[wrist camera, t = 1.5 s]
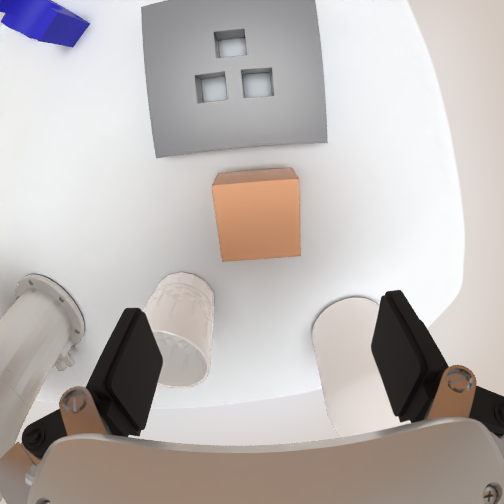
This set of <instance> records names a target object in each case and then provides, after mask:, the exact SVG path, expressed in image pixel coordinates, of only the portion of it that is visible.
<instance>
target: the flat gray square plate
mask: <svg viewBox="0 0 504 504" xmlns="http://www.w3.org/2000/svg"><path fill="white" fill-rule="evenodd" d="M141 12H142V33H143V49H144V62H145V74H146V84H147V93H148V102H149V111H150V119H151V126H152V134H153V141H154V147H155V154H156V158H162V157H168V156H174V155H181V154H188V153H196V152H204V151H212V150H221V149H230V148H241V147H253V146H266V145H283V144H306V143H327V120H326V102H325V87H324V75H323V63H322V53H321V43H320V34H319V26H318V18H317V11H316V4H315V0H167V1H163V2H159V3H155V4H151V5H147V6H144V7H141ZM242 37H245V38H246V49H247V55H242V56H232V57H223V58H220V57H219V46H218V40H223V39H231V38H242ZM263 72H270V79H271V91H272V96H265V97H251V98H244V89H243V79H242V74H249V73H263ZM220 76H226V87H227V97H228V100H221V101H213V102H205V103H203V94H202V84H201V79H205V78H212V77H220Z"/></svg>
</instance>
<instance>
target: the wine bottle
mask: <svg viewBox="0 0 504 504" xmlns="http://www.w3.org/2000/svg"><path fill="white" fill-rule="evenodd" d="M379 307H380V306H379V305H378V304H376V303H375V302H373V301H371V300H369V299H366V298H348V299H344V300H341V301H339V302H336V303H334V304H333V305H331V306H329V307H328V308H327V309H325V310H324V311H323V312H322V313H321V314H320V316H319V317H318V318H317V320H316V322H315V324H314V327H313V331H312V341H313V345H314V350H315V355H316V360H317V365H318V370H319V375H320V380H321V385H322V390H323V395H324V400H325V405H326V411H327V415H328V417H329V419H330V421H331V423H332V424H333V426H334V428H335V430H336V431H337V433H338V434H339V436H340V437H348V436H353V435H359V434H364V433H369V432H374V431H379V430H384V429H388V428H393V427H397V426H401V425H405V424H409V423H411V421H410V420H409V421H405V422H401V423H400V420H399V417H398V416H397V417H396V416H395V415H394V414H393V411H392V408H391V405H390V402H389V399H388V396H387V393H386V390H385V387H384V384H383V382H382V379H381V376H380V373H379V370H378V368H377V365H376V362H375V360H374V357H373V354H372V351H371V342H372V338H373V334H374V330H375V325H376V321H377V316H378V311H379Z"/></svg>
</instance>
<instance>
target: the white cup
mask: <svg viewBox="0 0 504 504" xmlns="http://www.w3.org/2000/svg"><path fill="white" fill-rule="evenodd" d="M142 312H145V314H146V316H147V319H148V322H149V324H150V327H151V330H152V332H153V335H154V337H155V340H156V342H157V345H158V347H159V350H160V352H161V355H162V357H163V366H162V369H161V372H160V376H159V379H158V383H157V384H158V385H162V386H166V387H171V388H187V387H192V386H195V385H197V384H199V383H201V382H202V381H204V380H205V379H206V377H207V376H208V374H209V370H210V359H211V347H212V337H213V322H214V294H213V291H212V290H211V288H210V287H209V286H208V284H207V283H206V282H205V281H204V280H202V279H200V278H199V277H197V276H196V275H193V274H188V273H183V272H179V273H174V274H170V275H168V276H166V277H165V278H164V279H163V280H162V281H160V282H159V284H158V286H157V288H156V290H155V292H154V293H153V294H152V296H151V297H150V299H149V300H148V302H147V304H146V306H145V307H144V309H143V310H142Z"/></svg>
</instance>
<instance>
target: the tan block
mask: <svg viewBox="0 0 504 504" xmlns="http://www.w3.org/2000/svg"><path fill="white" fill-rule="evenodd" d="M212 192H213V199H214V207H215V214H216V221H217V228H218V235H219V242H220V249H221V255H222V262H224V261H238V260H253V259H267V258H280V257H294V256H301V247H300V199H299V179H298V177H297V175H296V174H295V172H294V171H293V169H292V168H278V169H263V170H250V171H238V172H228V173H218V175H217V177H216V179H215V181H214V182H213V184H212Z"/></svg>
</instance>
